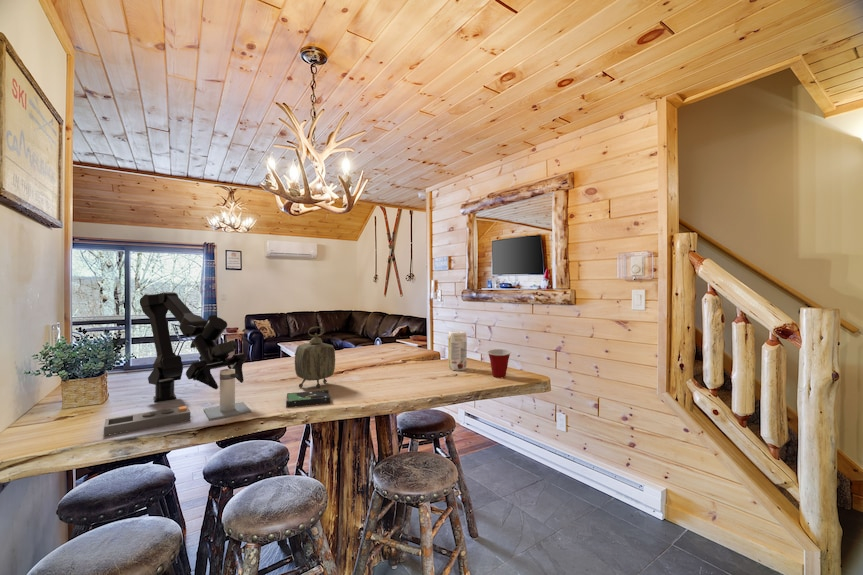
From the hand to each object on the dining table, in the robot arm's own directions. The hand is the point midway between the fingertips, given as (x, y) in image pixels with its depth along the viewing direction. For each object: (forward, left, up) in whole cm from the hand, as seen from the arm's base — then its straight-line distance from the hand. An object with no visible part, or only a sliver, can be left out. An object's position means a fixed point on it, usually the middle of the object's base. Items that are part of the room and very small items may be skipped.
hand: (230, 385), depth 122 cm
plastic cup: (+22, +108, -9) cm, 111 cm away
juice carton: (-2, +104, -9) cm, 104 cm away
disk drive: (+4, +25, -10) cm, 27 cm away
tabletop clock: (-13, +34, -9) cm, 38 cm away
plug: (0, 0, -8) cm, 8 cm away
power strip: (-3, -21, -9) cm, 23 cm away
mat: (-1, -1, -9) cm, 9 cm away
